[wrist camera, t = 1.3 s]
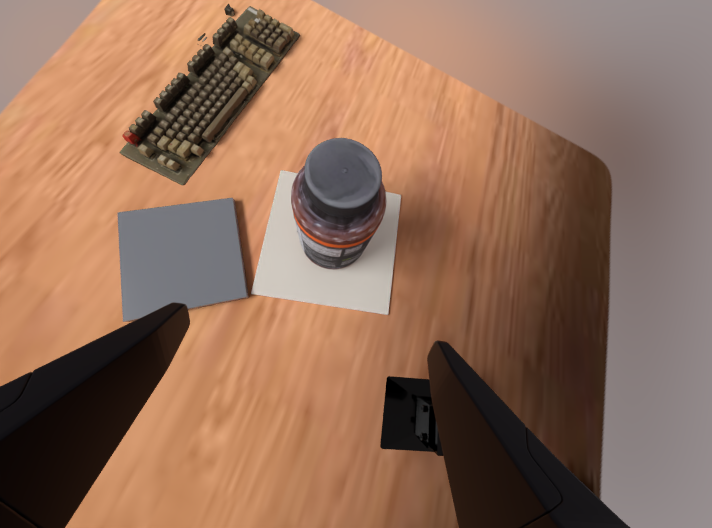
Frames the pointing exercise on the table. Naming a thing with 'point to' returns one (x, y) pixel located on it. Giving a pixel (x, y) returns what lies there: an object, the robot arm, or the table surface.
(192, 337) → the table surface
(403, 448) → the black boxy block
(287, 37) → the keyboard
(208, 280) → the slate coaster
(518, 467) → the robot arm
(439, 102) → the table surface
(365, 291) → the card
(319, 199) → the supplement bottle
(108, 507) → the table surface
